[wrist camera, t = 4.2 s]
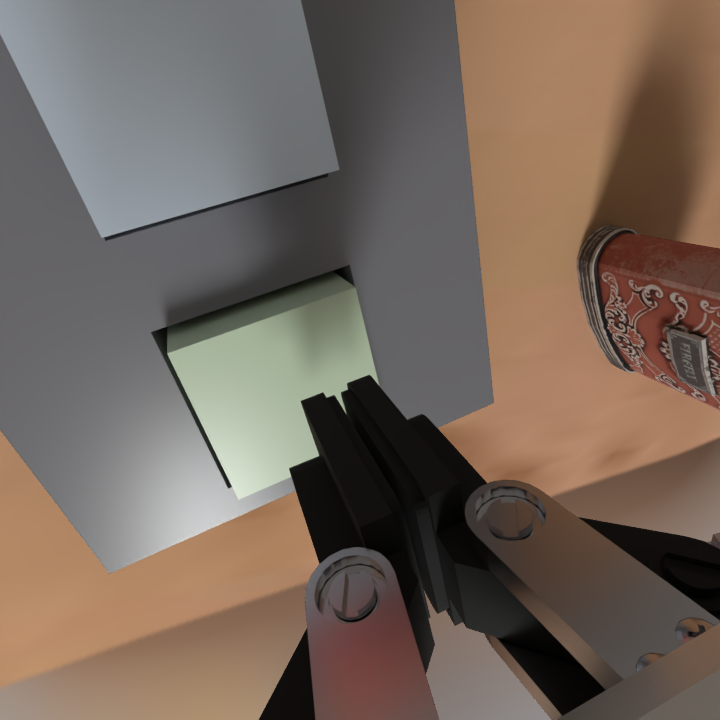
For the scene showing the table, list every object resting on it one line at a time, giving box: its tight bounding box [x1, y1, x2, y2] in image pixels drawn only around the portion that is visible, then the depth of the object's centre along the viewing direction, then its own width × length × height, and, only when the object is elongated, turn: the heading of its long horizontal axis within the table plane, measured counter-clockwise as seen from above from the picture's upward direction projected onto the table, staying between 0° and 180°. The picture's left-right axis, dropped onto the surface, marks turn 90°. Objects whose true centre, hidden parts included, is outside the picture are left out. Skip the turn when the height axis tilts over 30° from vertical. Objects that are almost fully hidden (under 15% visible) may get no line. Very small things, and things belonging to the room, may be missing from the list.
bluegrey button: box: [0, 0, 339, 238], centre depth 10 cm, size 5×5×3 cm
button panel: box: [0, 0, 494, 574], centre depth 11 cm, size 14×24×3 cm, turn 14°
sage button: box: [167, 271, 379, 500], centre depth 14 cm, size 5×5×3 cm
